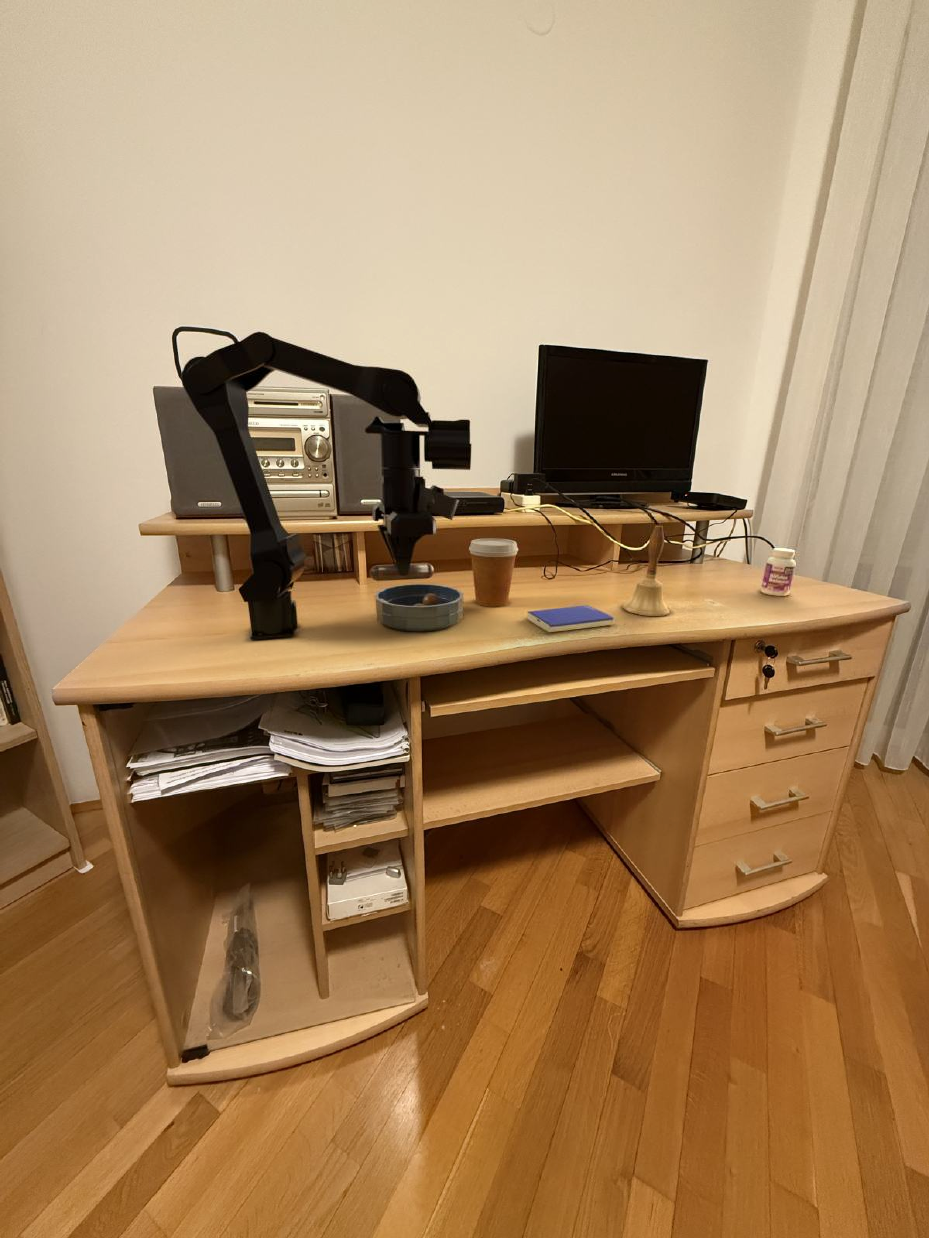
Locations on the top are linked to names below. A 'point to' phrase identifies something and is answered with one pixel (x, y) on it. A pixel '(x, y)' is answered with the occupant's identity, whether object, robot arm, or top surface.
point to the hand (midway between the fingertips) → (402, 573)
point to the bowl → (418, 607)
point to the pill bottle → (779, 572)
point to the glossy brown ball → (430, 600)
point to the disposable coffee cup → (492, 569)
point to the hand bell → (650, 582)
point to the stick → (393, 574)
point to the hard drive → (569, 618)
